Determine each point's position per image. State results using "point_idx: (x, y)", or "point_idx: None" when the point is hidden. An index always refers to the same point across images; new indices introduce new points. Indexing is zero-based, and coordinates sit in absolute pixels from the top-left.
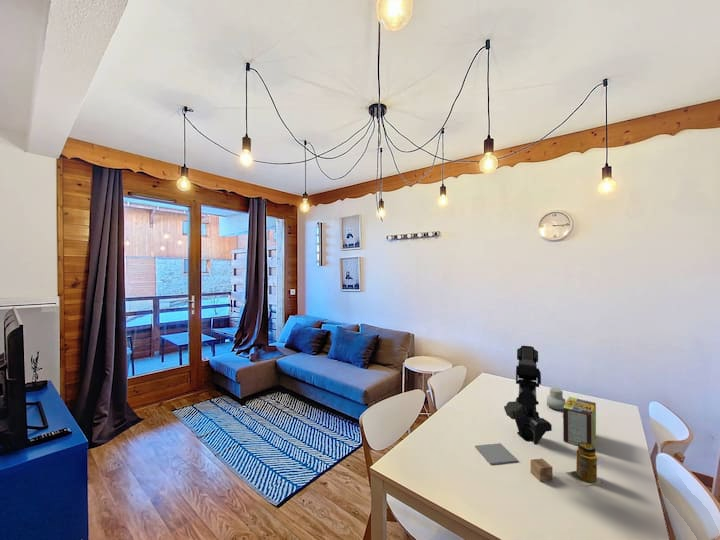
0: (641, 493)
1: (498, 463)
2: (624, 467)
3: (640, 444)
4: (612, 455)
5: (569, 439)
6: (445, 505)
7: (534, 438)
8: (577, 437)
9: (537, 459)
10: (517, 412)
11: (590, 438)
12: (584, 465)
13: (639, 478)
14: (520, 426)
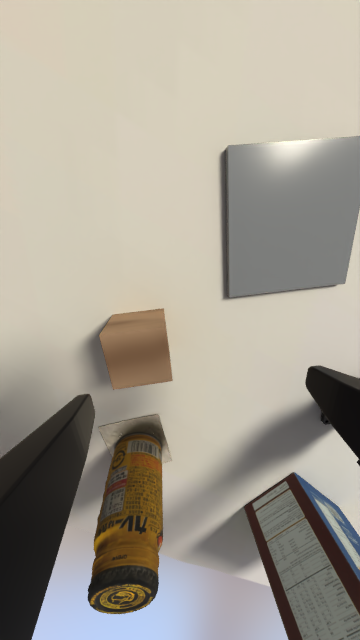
0: (85, 516)
1: (226, 198)
2: (176, 529)
3: (246, 579)
4: (219, 530)
5: (288, 493)
6: None
7: (7, 454)
8: (280, 520)
9: (166, 357)
10: None
11: (260, 548)
12: (110, 490)
13: None
14: (348, 413)
